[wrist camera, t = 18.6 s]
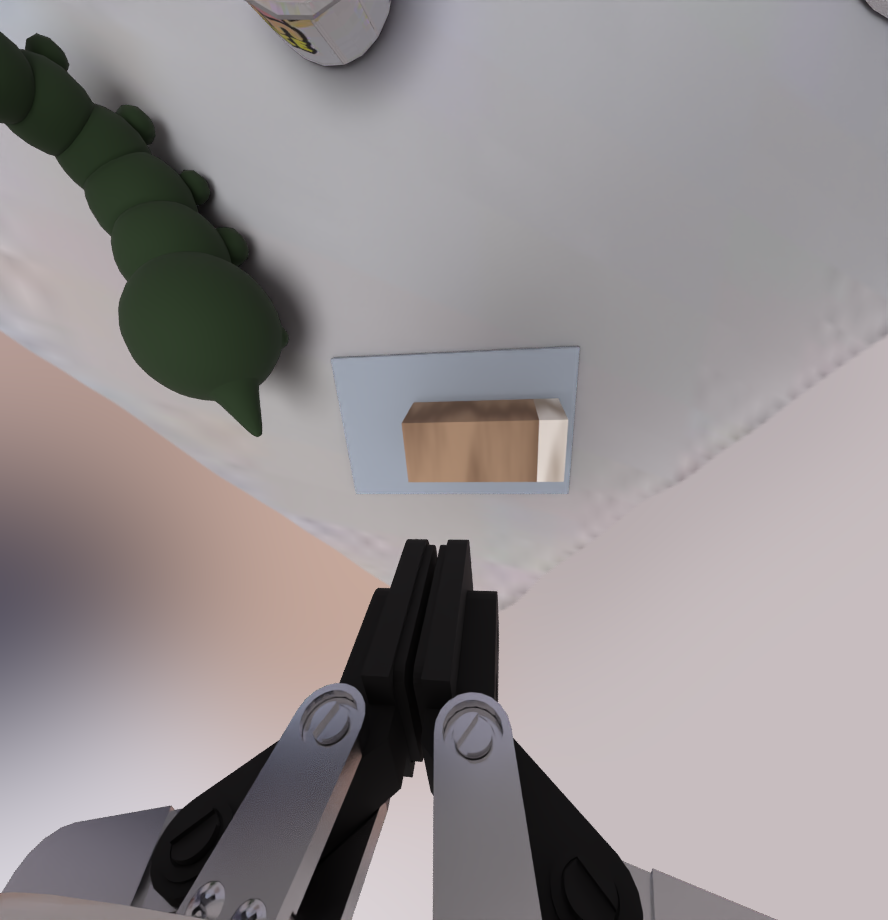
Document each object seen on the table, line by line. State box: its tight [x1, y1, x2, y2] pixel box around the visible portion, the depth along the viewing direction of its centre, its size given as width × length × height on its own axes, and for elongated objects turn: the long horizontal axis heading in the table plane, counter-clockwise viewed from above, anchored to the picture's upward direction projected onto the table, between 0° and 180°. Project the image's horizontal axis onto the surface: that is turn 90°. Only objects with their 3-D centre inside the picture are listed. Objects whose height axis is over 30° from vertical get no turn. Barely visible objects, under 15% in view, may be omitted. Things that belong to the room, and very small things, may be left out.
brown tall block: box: [401, 398, 568, 482], centre depth 32 cm, size 5×5×12 cm
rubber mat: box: [331, 346, 580, 494], centre depth 35 cm, size 20×13×1 cm, turn 94°
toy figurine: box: [0, 32, 289, 437], centre depth 24 cm, size 9×19×25 cm
